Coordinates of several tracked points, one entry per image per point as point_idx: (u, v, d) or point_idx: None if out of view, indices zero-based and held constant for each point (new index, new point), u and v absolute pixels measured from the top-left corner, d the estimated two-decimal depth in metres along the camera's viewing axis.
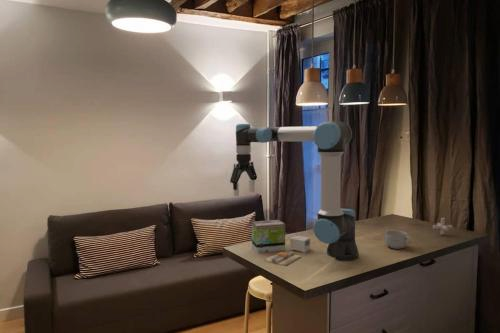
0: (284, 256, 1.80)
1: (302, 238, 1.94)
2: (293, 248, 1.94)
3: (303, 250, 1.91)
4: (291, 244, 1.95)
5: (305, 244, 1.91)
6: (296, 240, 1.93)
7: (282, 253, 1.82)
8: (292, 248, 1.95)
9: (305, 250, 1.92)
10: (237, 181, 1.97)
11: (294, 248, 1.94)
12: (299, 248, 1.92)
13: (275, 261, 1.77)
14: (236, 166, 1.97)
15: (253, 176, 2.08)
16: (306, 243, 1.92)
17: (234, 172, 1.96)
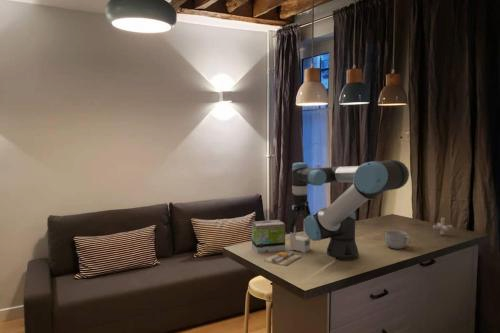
0: (284, 256, 1.80)
1: (302, 238, 1.94)
2: (293, 248, 1.94)
3: (303, 250, 1.91)
4: (291, 244, 1.95)
5: (305, 244, 1.91)
6: (296, 240, 1.93)
7: (282, 253, 1.82)
8: (292, 248, 1.95)
9: (305, 250, 1.92)
10: (294, 224, 1.88)
11: (294, 248, 1.94)
12: (299, 248, 1.92)
13: (275, 261, 1.77)
14: (293, 208, 1.88)
15: (308, 216, 1.99)
16: (306, 243, 1.92)
17: (291, 214, 1.87)
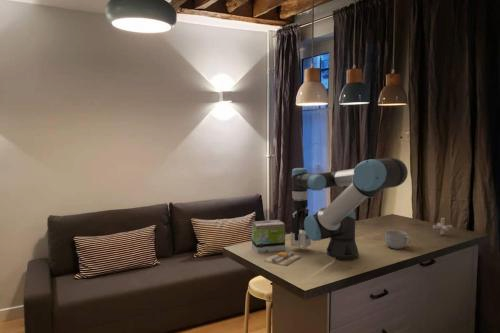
0: (284, 256, 1.80)
1: (303, 232, 1.93)
2: (294, 242, 1.94)
3: (304, 243, 1.90)
4: (292, 238, 1.94)
5: (306, 237, 1.90)
6: None
7: (282, 253, 1.82)
8: (293, 242, 1.94)
9: (306, 244, 1.91)
10: (298, 231, 1.90)
11: None
12: (300, 242, 1.91)
13: (275, 261, 1.77)
14: (294, 216, 1.88)
15: None
16: (307, 237, 1.91)
17: (294, 222, 1.89)
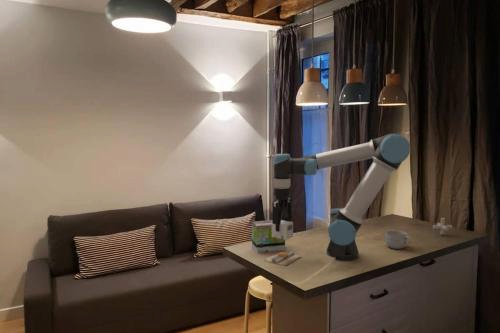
0: (284, 256, 1.80)
1: (284, 222, 1.80)
2: (275, 233, 1.80)
3: (285, 235, 1.77)
4: (273, 228, 1.80)
5: (287, 228, 1.77)
6: None
7: (282, 253, 1.82)
8: (273, 233, 1.80)
9: (287, 235, 1.77)
10: (280, 222, 1.77)
11: None
12: None
13: (275, 261, 1.77)
14: (275, 205, 1.74)
15: (288, 216, 1.83)
16: (289, 228, 1.78)
17: (275, 212, 1.75)
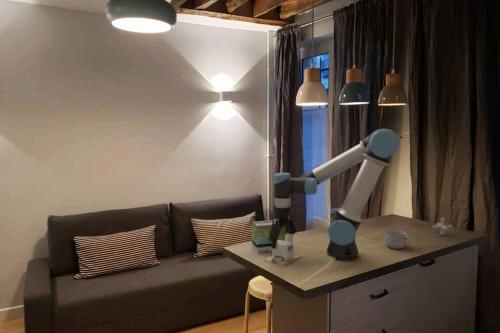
0: None
1: (285, 243, 1.81)
2: None
3: (285, 256, 1.78)
4: None
5: (288, 249, 1.78)
6: (278, 245, 1.80)
7: None
8: None
9: (288, 256, 1.78)
10: (276, 239, 1.75)
11: None
12: (281, 254, 1.79)
13: (275, 261, 1.77)
14: (275, 222, 1.75)
15: (292, 230, 1.86)
16: (289, 249, 1.79)
17: (273, 229, 1.74)
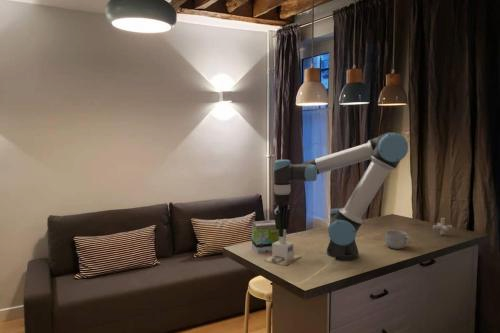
0: None
1: (285, 243, 1.81)
2: (275, 254, 1.81)
3: (285, 256, 1.78)
4: (273, 250, 1.81)
5: (288, 250, 1.78)
6: (278, 246, 1.80)
7: None
8: (274, 254, 1.81)
9: (288, 256, 1.78)
10: (283, 227, 1.79)
11: (276, 254, 1.81)
12: (281, 254, 1.79)
13: (275, 261, 1.77)
14: (276, 213, 1.75)
15: (286, 224, 1.81)
16: (289, 249, 1.79)
17: (277, 219, 1.76)
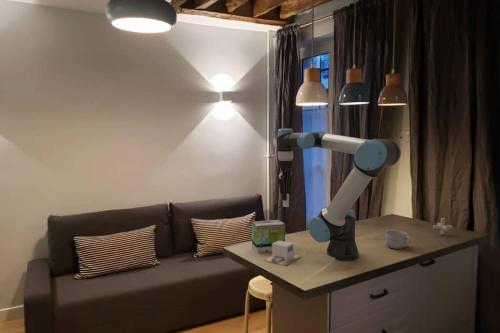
0: None
1: (285, 243, 1.81)
2: (275, 254, 1.81)
3: (285, 256, 1.78)
4: (273, 250, 1.81)
5: (288, 250, 1.78)
6: (278, 246, 1.80)
7: None
8: (274, 254, 1.81)
9: (288, 256, 1.78)
10: (286, 191, 1.93)
11: (276, 254, 1.81)
12: (281, 254, 1.79)
13: (275, 261, 1.77)
14: (281, 178, 1.88)
15: (289, 189, 1.95)
16: (289, 249, 1.79)
17: (281, 183, 1.90)
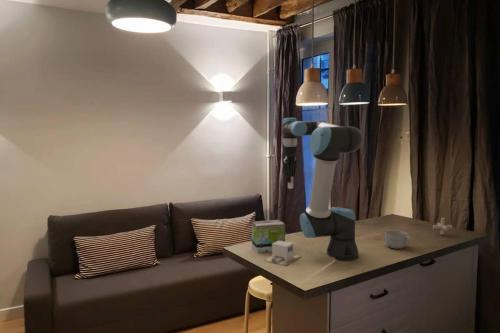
0: None
1: (285, 243, 1.81)
2: (275, 254, 1.81)
3: (285, 256, 1.78)
4: (273, 250, 1.81)
5: (288, 250, 1.78)
6: (278, 246, 1.80)
7: None
8: (274, 254, 1.81)
9: (288, 256, 1.78)
10: (291, 174, 2.14)
11: (276, 254, 1.81)
12: (281, 254, 1.79)
13: (275, 261, 1.77)
14: (285, 162, 2.10)
15: (293, 172, 2.16)
16: (289, 249, 1.79)
17: (286, 167, 2.11)
